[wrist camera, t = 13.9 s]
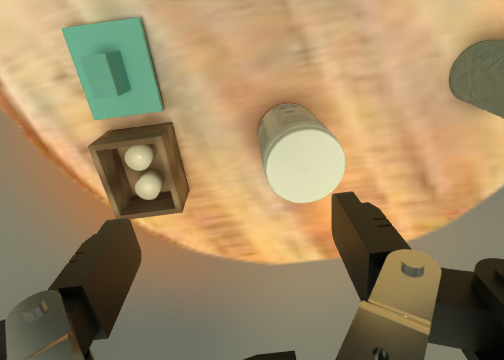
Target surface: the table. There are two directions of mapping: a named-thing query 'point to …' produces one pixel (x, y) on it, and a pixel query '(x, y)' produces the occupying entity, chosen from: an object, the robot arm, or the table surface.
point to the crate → (125, 178)
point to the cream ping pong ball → (140, 156)
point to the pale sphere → (150, 184)
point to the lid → (114, 68)
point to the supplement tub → (299, 154)
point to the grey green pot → (480, 76)
